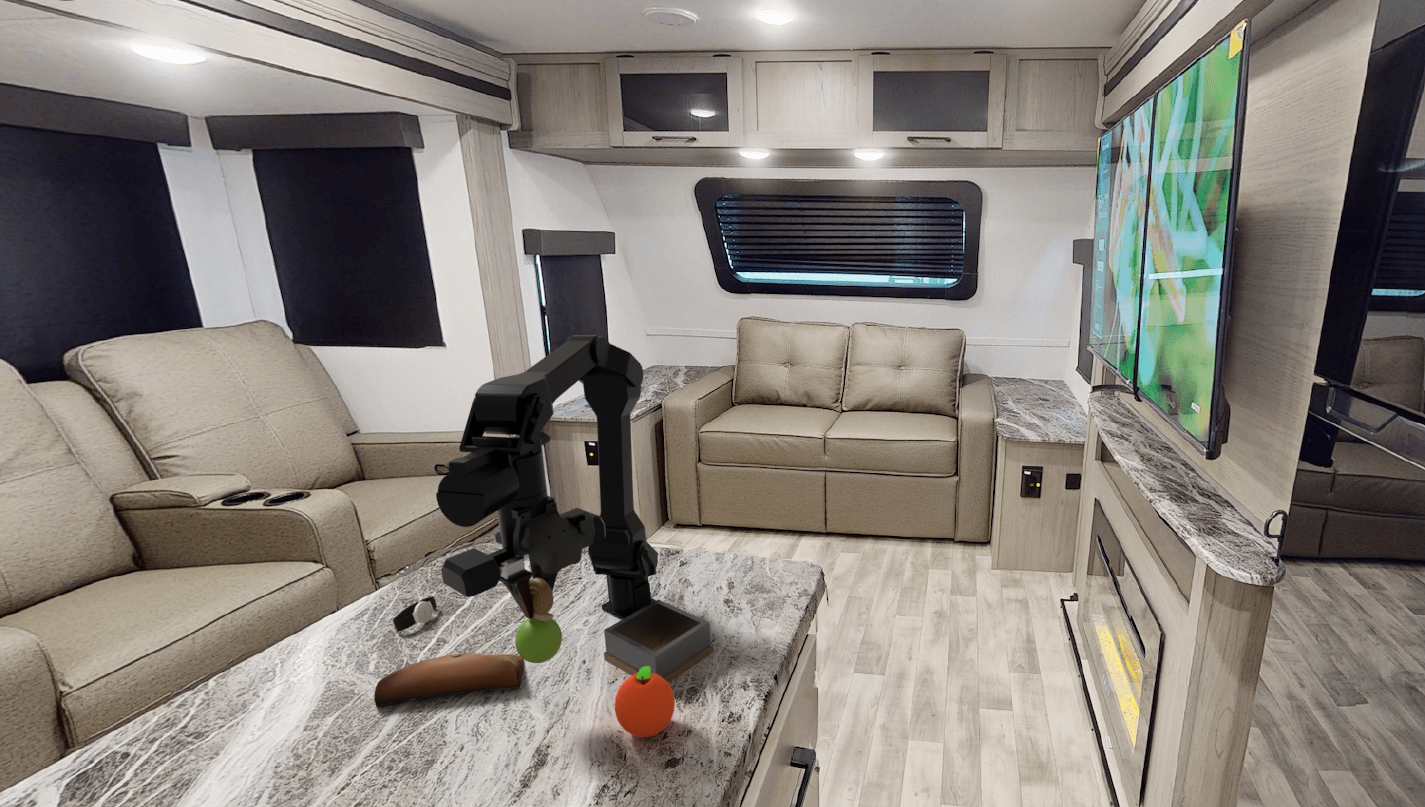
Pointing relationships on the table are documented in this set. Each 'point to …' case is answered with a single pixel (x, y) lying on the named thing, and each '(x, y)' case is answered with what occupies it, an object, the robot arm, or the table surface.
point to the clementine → (644, 703)
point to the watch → (415, 614)
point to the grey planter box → (658, 641)
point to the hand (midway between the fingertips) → (536, 614)
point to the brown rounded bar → (450, 677)
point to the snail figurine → (539, 627)
